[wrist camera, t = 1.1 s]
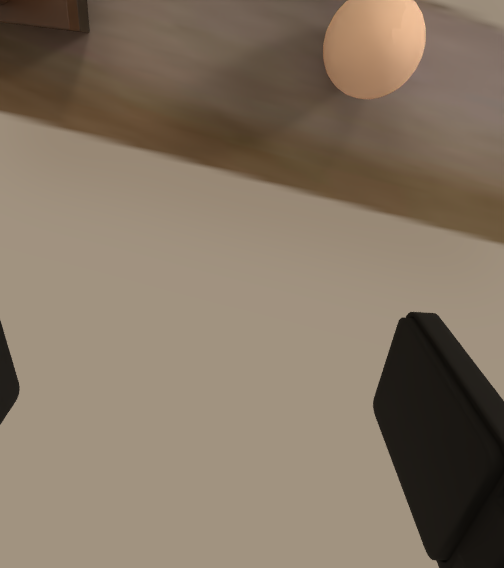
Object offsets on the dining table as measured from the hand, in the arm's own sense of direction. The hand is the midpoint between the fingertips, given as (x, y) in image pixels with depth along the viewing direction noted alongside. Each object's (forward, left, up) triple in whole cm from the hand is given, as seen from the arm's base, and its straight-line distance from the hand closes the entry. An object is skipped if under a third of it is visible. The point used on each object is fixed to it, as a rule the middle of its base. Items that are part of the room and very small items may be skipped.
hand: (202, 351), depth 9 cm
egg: (-8, +8, -24) cm, 26 cm away
